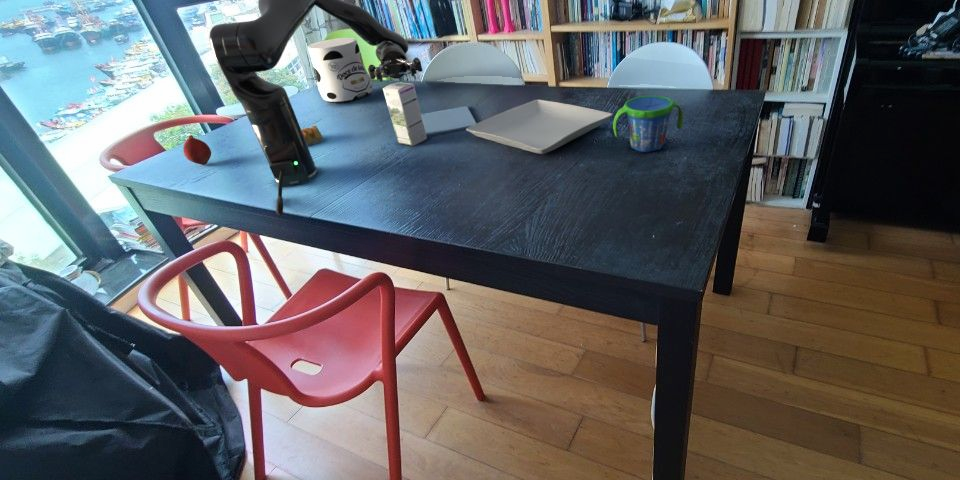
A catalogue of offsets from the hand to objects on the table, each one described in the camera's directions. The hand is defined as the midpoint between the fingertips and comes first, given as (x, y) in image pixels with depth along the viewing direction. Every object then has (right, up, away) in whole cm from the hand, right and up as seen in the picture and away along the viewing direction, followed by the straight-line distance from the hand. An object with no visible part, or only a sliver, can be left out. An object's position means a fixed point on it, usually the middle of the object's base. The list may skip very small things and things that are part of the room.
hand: (396, 74), depth 127 cm
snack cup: (+63, -24, -16) cm, 69 cm away
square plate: (+38, -17, -4) cm, 42 cm away
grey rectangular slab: (+12, -9, +10) cm, 18 cm away
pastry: (-26, -17, +6) cm, 32 cm away
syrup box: (+4, -18, 0) cm, 19 cm away
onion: (-50, -24, -1) cm, 56 cm away
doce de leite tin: (-27, +7, +38) cm, 47 cm away
